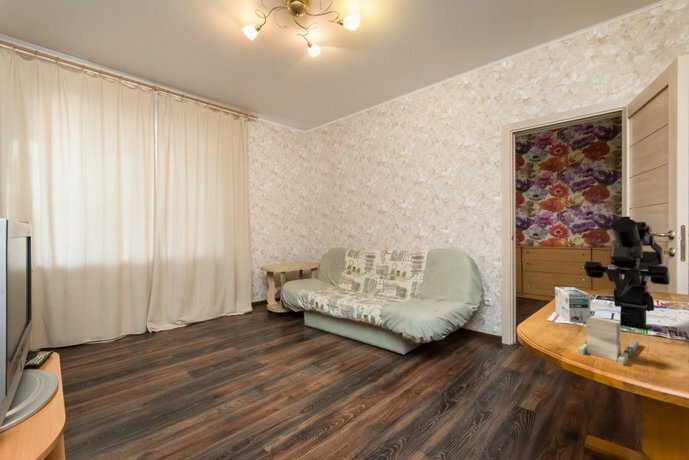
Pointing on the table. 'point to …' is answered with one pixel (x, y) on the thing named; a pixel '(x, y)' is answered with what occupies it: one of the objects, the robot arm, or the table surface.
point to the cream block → (603, 338)
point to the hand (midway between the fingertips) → (619, 294)
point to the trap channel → (623, 356)
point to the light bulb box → (572, 304)
